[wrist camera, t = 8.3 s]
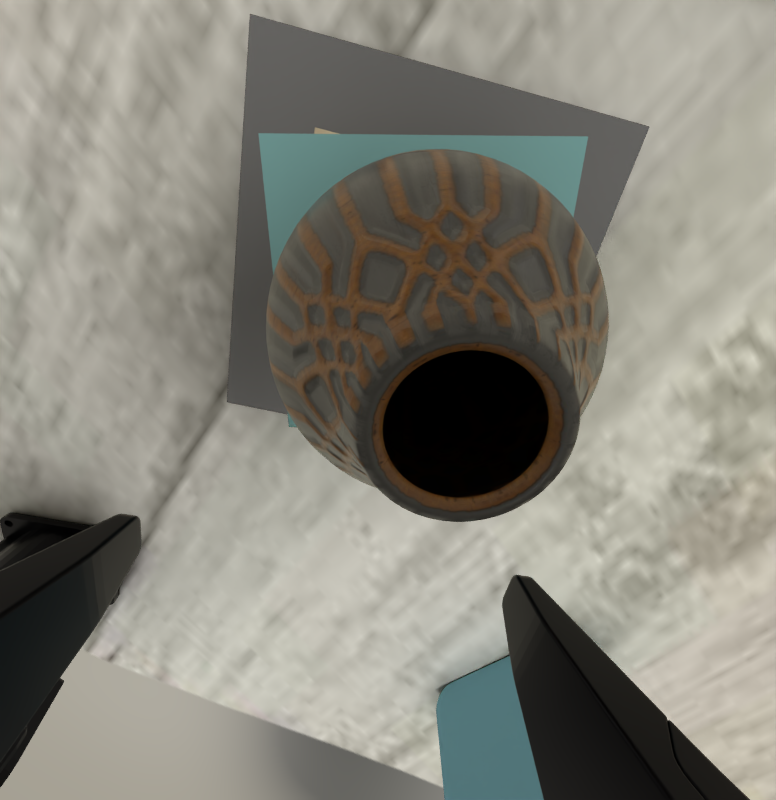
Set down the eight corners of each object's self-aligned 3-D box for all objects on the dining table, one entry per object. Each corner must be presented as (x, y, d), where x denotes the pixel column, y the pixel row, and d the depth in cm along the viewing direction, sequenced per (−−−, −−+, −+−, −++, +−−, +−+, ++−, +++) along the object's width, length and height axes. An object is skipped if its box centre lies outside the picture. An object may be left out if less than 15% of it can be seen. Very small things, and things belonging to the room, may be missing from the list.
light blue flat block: (464, 715, 32) (503, 969, 21) (432, 689, 30) (456, 946, 19) (594, 659, 29) (721, 920, 18) (566, 627, 27) (684, 888, 16)
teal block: (306, 395, 17) (288, 426, 14) (286, 156, 13) (258, 133, 10) (510, 398, 16) (534, 430, 14) (546, 158, 13) (588, 136, 10)
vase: (457, 125, 10) (718, -331, 2) (560, 335, 12) (879, 514, 4) (263, 272, 12) (-26, 342, 4) (385, 436, 14) (378, 708, 6)
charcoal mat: (230, 398, 20) (226, 402, 20) (254, 21, 14) (249, 14, 14) (509, 455, 22) (512, 459, 21) (641, 130, 16) (649, 126, 15)
